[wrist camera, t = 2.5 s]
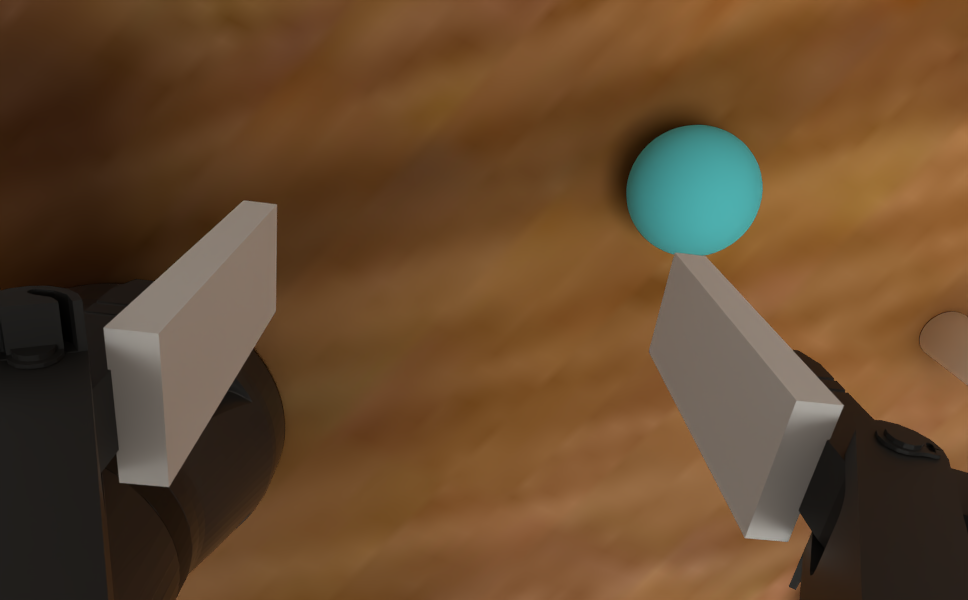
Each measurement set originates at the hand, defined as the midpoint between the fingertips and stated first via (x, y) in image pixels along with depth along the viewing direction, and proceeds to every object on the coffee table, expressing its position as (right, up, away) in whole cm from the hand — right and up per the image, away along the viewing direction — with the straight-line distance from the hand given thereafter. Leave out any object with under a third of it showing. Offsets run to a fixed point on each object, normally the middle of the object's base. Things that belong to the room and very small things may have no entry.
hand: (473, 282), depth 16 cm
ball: (+9, +4, +12) cm, 16 cm away
